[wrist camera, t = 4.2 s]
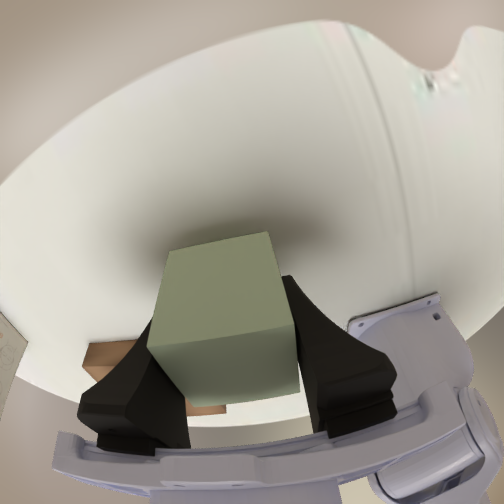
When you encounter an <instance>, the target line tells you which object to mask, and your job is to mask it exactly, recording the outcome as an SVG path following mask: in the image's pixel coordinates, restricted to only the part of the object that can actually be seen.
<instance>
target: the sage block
mask: <svg viewBox="0 0 504 504" xmlns="http://www.w3.org/2000/svg"><path fill="white" fill-rule="evenodd" d="M147 348H148V350H149V351H150V352H151V354H152V355H153V356H154V358H155V359H156V361H157V362H158V363H159V365H160V366H161V367H162V369H163V370H164V371H165V373H166V374H167V375H168V376H169V378H170V379H171V380H172V382H173V383H174V384H175V385H176V387H177V388H178V389H179V390H180V391H181V393H182V394H183V395H184V396H185V397H186V399H187V400H188V401H189V402H190V403H191V405H192V406H193V407H204V406H216V405H225V404H234V403H242V402H249V401H255V400H262V399H268V398H274V397H279V396H284V395H289V394H294V393H299V392H300V384H299V371H298V360H297V348H296V338H295V327H294V322H293V318H292V314H291V311H290V307H289V303H288V300H287V296H286V293H285V289H284V286H283V282H282V278H281V275H280V271H279V268H278V264H277V261H276V257H275V254H274V251H273V247H272V244H271V240H270V237H269V233H268V231H265V232H260V233H255V234H250V235H245V236H240V237H235V238H230V239H225V240H220V241H215V242H210V243H205V244H200V245H196V246H191V247H186V248H181V249H176V250H172V251H169V255H168V258H167V262H166V266H165V269H164V273H163V277H162V281H161V285H160V289H159V293H158V297H157V301H156V305H155V310H154V314H153V318H152V323H151V328H150V332H149V337H148V342H147Z"/></svg>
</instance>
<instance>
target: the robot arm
mask: <svg viewBox="0 0 504 504" xmlns="http://www.w3.org/2000/svg"><path fill="white" fill-rule="evenodd" d="M281 278H282V282H283V286H284V289H285V293H286V296H287V300H288V303H289V307H290V311H291V314H292V318H293V322H294V327H295V338H296V348H297V360H298V363H299V367H300V371H301V375H302V380H303V384H304V389H305V393H306V398H307V403H308V408H309V413H310V417H311V422H312V428H313V433H314V434H310V435H305V436H301V437H296V438H291V439H285V440H280V441H274V442H267V443H260V444H253V445H244V446H233V447H221V448H201V449H191V445H190V440H189V433H188V425H187V416H186V402H185V396H184V395H183V394H182V393H181V391H180V390H179V389H178V388H177V387H176V385H175V384H174V383H173V382H172V380H171V379H170V378H169V376H168V375H167V374H166V373H165V371H164V370H163V369H162V367H161V366H160V365H159V363H158V362H157V361H156V359H155V358H154V356H153V355H152V354H151V352H150V351H149V350H148V348H147V342H148V337H149V332H150V328H151V323H152V319H151V320H150V322H149V323H148V325H147V327H146V328H145V330H144V331H143V333H142V334H141V335H140V337H139V338H138V340H137V341H136V343H135V344H134V345H133V347H132V348H131V349H130V350H129V352H128V353H127V354H126V355H125V356H124V358H123V359H122V360H121V361H120V362H119V363H118V364H117V365H116V366H115V367H114V368H113V369H112V370H111V371H110V372H109V373H108V374H107V375H106V376H105V377H103V378H102V379H101V380H100V381H99V382H98V383H96V384H95V385H94V386H92V387H91V388H90V389H88V390H87V391H85V392H84V393H83V394H82V396H81V400H80V404H79V408H78V412H77V417H78V419H79V420H80V421H81V422H82V423H83V424H85V425H86V426H88V427H89V428H90V429H92V430H94V431H95V432H96V433H98V438H97V442H93V441H88V440H84V439H83V438H82V437H80V436H78V435H76V434H73V433H70V432H65V431H59V432H58V436H57V441H56V446H55V451H54V457H53V462H52V469H53V470H55V471H57V472H59V473H62V474H64V475H66V476H68V477H71V478H73V479H75V480H78V481H80V482H83V483H87V484H90V485H94V486H98V487H101V488H106V489H109V490H114V491H118V492H123V493H127V494H132V495H137V496H143V497H149V498H150V504H342V500H341V496H340V492H339V487H338V485H341V484H344V483H348V482H351V481H354V480H357V479H360V478H363V477H366V476H367V477H368V481H369V484H370V487H371V488H372V490H373V491H374V493H375V494H376V495H377V496H378V497H379V498H380V499H382V500H383V501H384V502H386V503H387V504H491V502H490V500H489V497H488V495H487V493H486V490H487V488H488V487H489V486H490V484H491V483H492V481H493V480H494V478H495V477H496V475H497V473H498V472H499V470H500V468H501V466H502V462H503V456H504V448H503V442H502V439H501V437H500V435H499V432H498V428H497V425H496V423H495V420H494V417H493V415H492V413H491V411H490V409H489V407H488V405H487V403H486V402H485V400H484V398H483V397H482V395H481V394H480V393H479V392H478V391H477V390H476V389H475V388H469V387H468V386H469V384H470V382H471V380H472V377H473V373H474V363H473V358H472V354H471V351H470V349H469V347H468V345H467V343H466V342H465V340H464V338H463V337H462V335H461V334H460V332H459V331H458V329H457V328H456V326H455V325H454V324H453V322H452V321H451V319H450V318H449V316H448V315H447V314H446V312H445V311H444V309H443V308H442V307H441V305H440V304H439V301H440V298H441V296H440V295H439V294H438V293H436V294H433V295H431V296H428V297H425V298H422V299H419V300H416V301H413V302H410V303H407V304H404V305H401V306H398V307H395V308H392V309H389V310H385V311H382V312H379V313H375V314H372V315H369V316H365V317H362V318H358V319H354V320H352V321H351V322H350V323H349V326H348V333H347V332H345V331H344V330H343V329H341V328H340V327H339V326H337V325H336V324H335V323H334V322H332V321H331V320H330V319H329V318H328V317H326V316H325V315H324V314H323V313H322V312H321V311H320V310H319V309H318V308H317V307H316V306H315V305H314V304H313V303H312V302H311V301H310V299H309V298H308V297H307V296H306V295H305V294H304V293H303V291H302V290H301V289H300V287H299V286H298V285H297V283H296V282H295V280H294V279H293V277H292V276H291V275H287V276H282V277H281ZM152 318H153V317H152Z"/></svg>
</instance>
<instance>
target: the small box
mask: <svg viewBox="0 0 504 504" xmlns="http://www.w3.org/2000/svg"><path fill="white" fill-rule="evenodd" d="M27 344H28V342H27V341H26V340H25V339H24V338H23V337H22V336H21V335H20V334H19V333H18V332H17V330H16V329H15V328H14V327H13V326H12V325H11V324H10V323H9V322H8V321H7V319H6V318H5V317H4V316H3V315H2V314H1V312H0V419H1V415H2V412H3V409H4V405H5V402H6V399H7V396H8V393H9V390H10V387H11V384H12V381H13V379H14V376H15V373H16V371H17V368H18V366H19V363H20V361H21V358H22V356H23V353H24V351H25V349H26V347H27Z"/></svg>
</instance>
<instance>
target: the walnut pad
mask: <svg viewBox="0 0 504 504" xmlns="http://www.w3.org/2000/svg"><path fill="white" fill-rule="evenodd" d="M137 340H138V339H137ZM137 340H127V341H116V342H103V343H89V346H88V349H87V352H86V355H85V358H84V361H83V364H82V367H83V368H84V369H85V370H86V371H87V372H88V373H89V374H90V376H91V377H92V378H93V379H94V380H96V381H97V382H99V381H100V380H101V379H102V378H103V377H105V376H106V375H107V374H108V373H109V372H110V371H111V370H112V369H113V368H114V367H115V366H116V365H117V364H118V363H119V362H120V361H121V360H122V359H123V358H124V356H125V355H126V354H127V353H128V352H129V350H130V349H131V348H132V347H133V345H134V344H135V343H136V341H137ZM185 402H186V416H202V415H214V414H224V413H226V404H225V405H216V406H204V407H193V406H192V405H191V403H190V402H189V401H188V400H187V399H186V397H185Z"/></svg>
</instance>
